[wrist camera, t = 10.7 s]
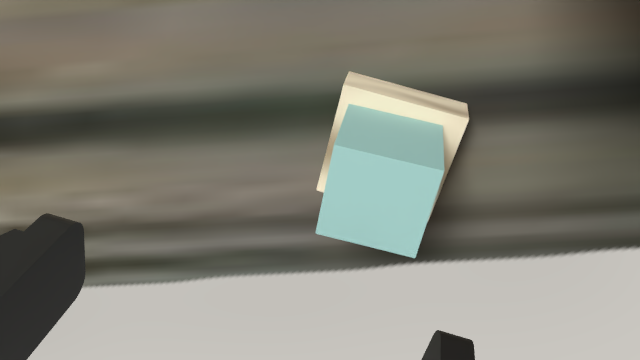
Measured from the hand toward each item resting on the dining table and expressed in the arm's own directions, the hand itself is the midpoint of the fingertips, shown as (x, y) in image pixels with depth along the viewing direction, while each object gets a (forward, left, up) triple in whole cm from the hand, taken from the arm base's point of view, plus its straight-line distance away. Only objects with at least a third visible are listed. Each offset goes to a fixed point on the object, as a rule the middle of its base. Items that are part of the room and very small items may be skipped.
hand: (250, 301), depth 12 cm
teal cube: (+7, +3, -23) cm, 25 cm away
